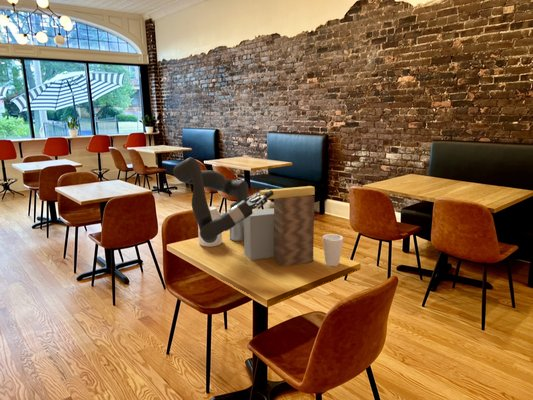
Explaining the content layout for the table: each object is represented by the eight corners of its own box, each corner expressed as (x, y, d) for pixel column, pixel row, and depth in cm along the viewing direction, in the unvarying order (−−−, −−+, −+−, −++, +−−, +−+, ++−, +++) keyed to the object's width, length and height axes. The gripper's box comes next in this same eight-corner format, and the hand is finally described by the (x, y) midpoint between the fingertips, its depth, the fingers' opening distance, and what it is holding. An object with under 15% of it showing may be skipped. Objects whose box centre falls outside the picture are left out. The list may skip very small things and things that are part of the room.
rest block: (250, 260, 192) (249, 216, 187) (244, 253, 202) (243, 211, 197) (281, 255, 198) (281, 212, 193) (273, 249, 207) (273, 208, 202)
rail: (262, 199, 177) (262, 191, 176) (259, 198, 180) (259, 190, 179) (314, 194, 186) (314, 187, 185) (311, 193, 189) (311, 186, 188)
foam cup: (318, 261, 190) (318, 235, 187) (334, 258, 194) (335, 233, 191) (329, 268, 181) (329, 241, 178) (346, 265, 185) (347, 238, 182)
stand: (282, 266, 184) (282, 199, 177) (274, 259, 193) (273, 194, 186) (313, 261, 190) (314, 196, 182) (303, 254, 199) (304, 192, 192)
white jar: (212, 248, 209) (211, 211, 204) (194, 244, 215) (192, 208, 210) (226, 241, 219) (225, 206, 215) (208, 238, 225) (207, 203, 221)
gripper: (240, 209, 169) (272, 186, 172) (231, 202, 182) (261, 181, 185) (248, 223, 171) (280, 200, 174) (239, 215, 184) (269, 194, 187)
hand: (270, 190), depth 180 cm, fingers open, 4 cm apart
